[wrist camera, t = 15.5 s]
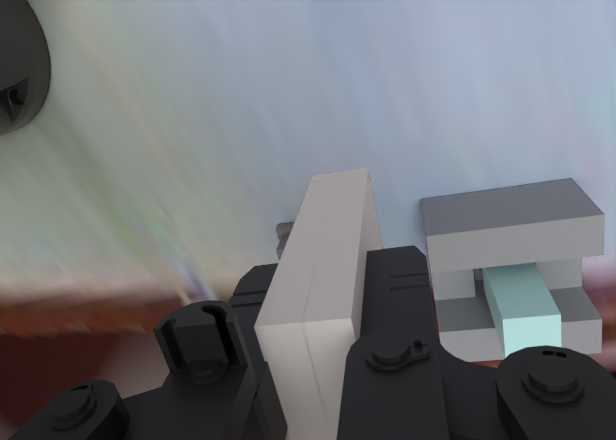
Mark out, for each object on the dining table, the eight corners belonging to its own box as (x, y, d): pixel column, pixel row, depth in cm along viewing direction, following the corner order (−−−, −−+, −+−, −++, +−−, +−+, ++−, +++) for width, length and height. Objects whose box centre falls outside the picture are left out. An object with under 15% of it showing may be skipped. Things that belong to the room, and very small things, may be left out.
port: (436, 317, 48) (444, 368, 42) (420, 199, 43) (426, 236, 37) (572, 305, 46) (601, 357, 39) (571, 178, 41) (604, 214, 34)
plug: (478, 271, 46) (505, 361, 35) (475, 236, 44) (502, 319, 33) (520, 267, 45) (561, 358, 34) (518, 231, 43) (560, 314, 33)
